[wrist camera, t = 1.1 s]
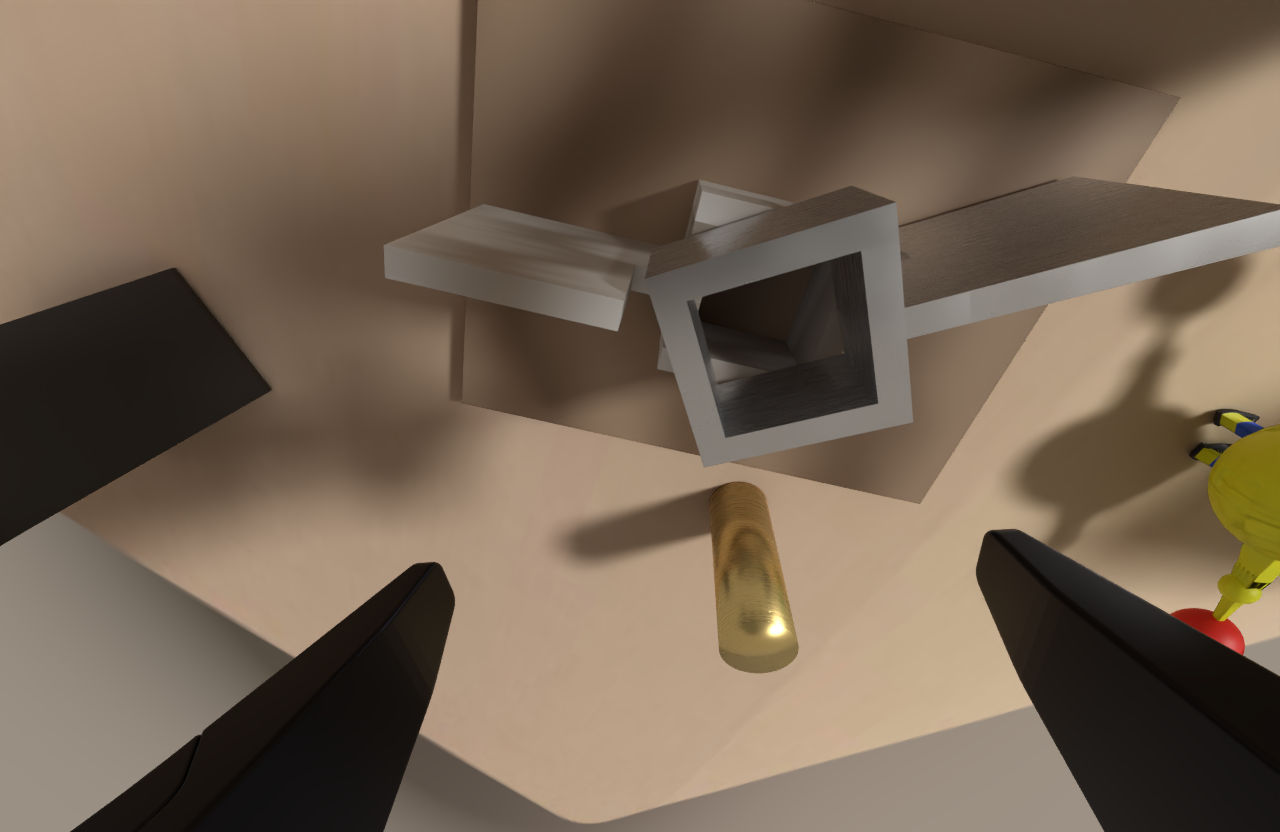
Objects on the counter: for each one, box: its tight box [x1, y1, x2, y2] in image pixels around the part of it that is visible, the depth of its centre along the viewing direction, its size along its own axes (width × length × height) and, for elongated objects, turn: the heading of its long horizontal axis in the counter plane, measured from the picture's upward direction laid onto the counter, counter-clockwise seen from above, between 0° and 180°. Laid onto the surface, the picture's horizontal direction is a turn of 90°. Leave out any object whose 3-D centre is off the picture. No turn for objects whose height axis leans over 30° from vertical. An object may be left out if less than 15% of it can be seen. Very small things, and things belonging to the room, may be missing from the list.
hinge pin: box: [709, 482, 799, 673], centre depth 22 cm, size 3×3×8 cm
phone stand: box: [0, 268, 272, 546], centre depth 18 cm, size 9×6×12 cm, turn 110°
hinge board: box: [384, 0, 1180, 504], centre depth 16 cm, size 21×16×8 cm
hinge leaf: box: [645, 176, 1280, 467], centre depth 15 cm, size 13×6×7 cm, turn 108°
